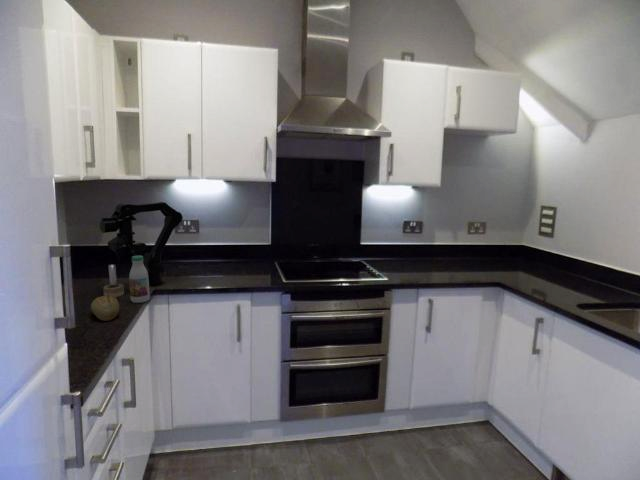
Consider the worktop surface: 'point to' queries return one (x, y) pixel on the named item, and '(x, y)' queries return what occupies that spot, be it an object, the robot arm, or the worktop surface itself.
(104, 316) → the bread roll
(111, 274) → the steel peg
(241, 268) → the worktop surface
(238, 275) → the worktop surface
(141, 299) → the milk bottle
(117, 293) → the tan tape roll
